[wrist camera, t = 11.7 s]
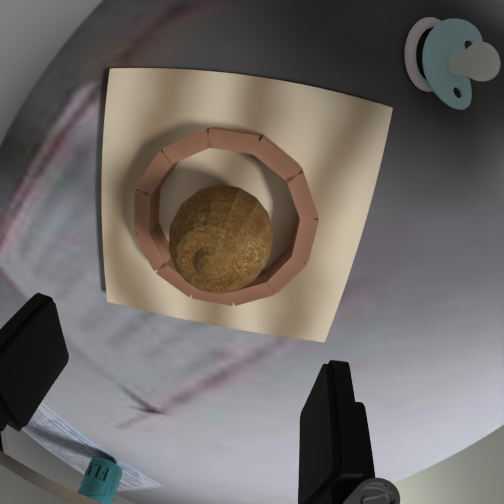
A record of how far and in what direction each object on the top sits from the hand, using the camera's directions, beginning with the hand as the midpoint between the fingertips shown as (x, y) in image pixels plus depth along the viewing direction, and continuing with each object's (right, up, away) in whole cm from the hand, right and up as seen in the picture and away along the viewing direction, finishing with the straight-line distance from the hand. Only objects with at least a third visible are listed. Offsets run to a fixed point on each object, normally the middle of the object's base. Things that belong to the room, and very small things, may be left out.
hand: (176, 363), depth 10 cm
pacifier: (+16, +18, +8) cm, 26 cm away
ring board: (+1, +7, +14) cm, 16 cm away
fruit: (+1, +6, +13) cm, 15 cm away
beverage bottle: (-24, -35, +36) cm, 56 cm away
